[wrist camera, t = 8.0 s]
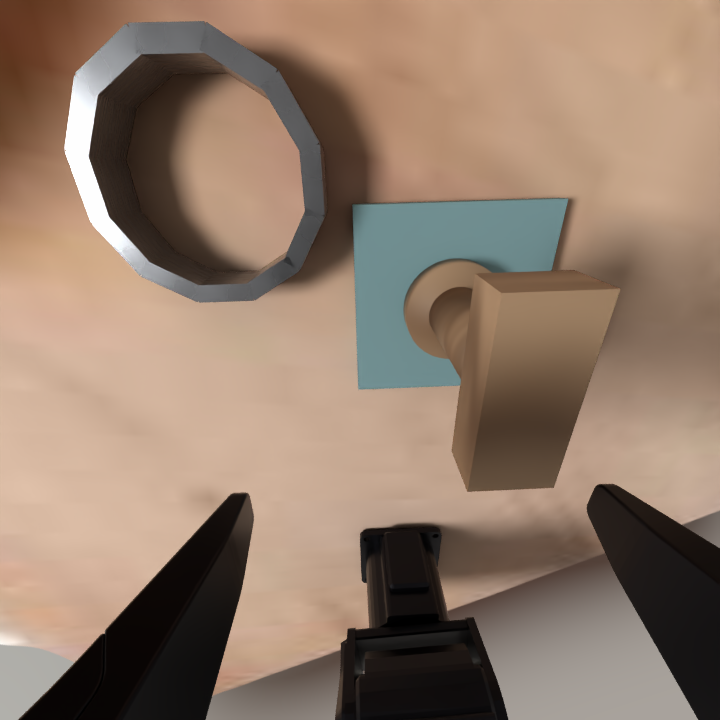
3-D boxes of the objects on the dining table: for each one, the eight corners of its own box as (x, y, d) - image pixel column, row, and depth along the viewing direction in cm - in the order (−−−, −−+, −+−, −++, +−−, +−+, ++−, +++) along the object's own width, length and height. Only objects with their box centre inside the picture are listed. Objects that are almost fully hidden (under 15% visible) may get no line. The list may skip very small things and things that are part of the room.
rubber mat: (519, 376, 21) (525, 382, 21) (358, 382, 21) (358, 389, 20) (559, 197, 17) (568, 198, 16) (352, 204, 16) (352, 205, 16)
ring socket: (332, 283, 18) (330, 297, 16) (149, 289, 18) (121, 305, 16) (317, 45, 14) (311, 19, 11) (72, 50, 13) (18, 24, 11)
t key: (405, 238, 16) (461, 294, 8) (508, 235, 16) (660, 287, 9) (401, 366, 20) (438, 493, 12) (487, 362, 20) (582, 486, 12)
